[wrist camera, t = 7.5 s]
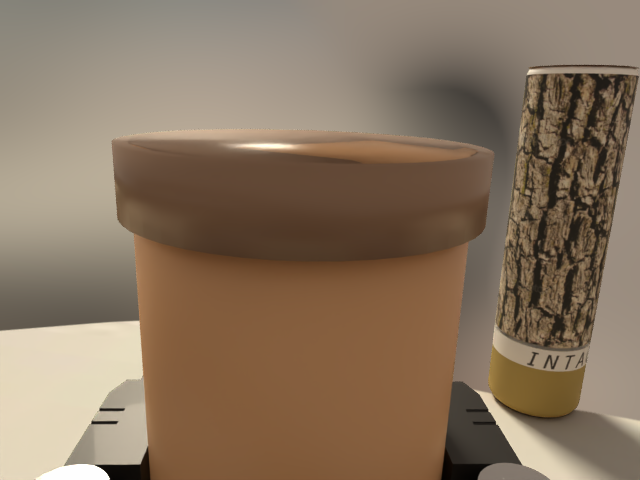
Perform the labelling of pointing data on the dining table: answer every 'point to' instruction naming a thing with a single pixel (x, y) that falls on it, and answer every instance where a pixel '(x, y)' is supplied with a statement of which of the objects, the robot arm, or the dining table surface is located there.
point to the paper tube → (558, 232)
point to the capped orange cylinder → (298, 298)
